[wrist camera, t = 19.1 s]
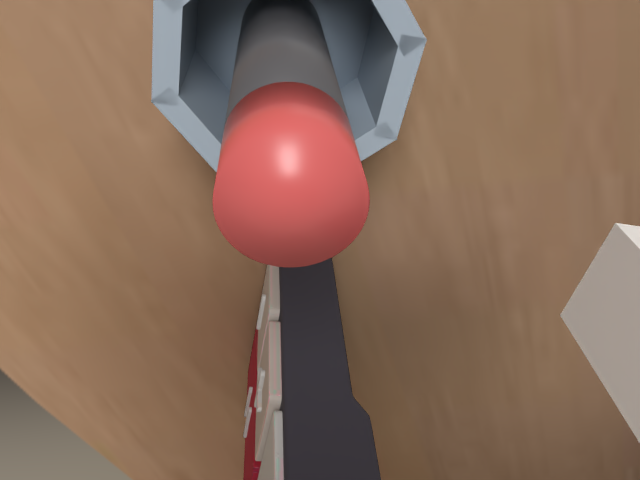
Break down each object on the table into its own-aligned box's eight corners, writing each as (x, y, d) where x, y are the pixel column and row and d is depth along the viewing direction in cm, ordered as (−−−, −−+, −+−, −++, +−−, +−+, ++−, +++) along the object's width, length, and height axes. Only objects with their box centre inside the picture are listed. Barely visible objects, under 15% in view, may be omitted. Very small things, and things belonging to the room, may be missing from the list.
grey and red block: (266, 239, 30) (264, 501, 18) (341, 247, 31) (387, 505, 19) (244, 370, 36) (231, 630, 24) (306, 374, 37) (324, 629, 25)
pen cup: (412, -70, 22) (453, -46, 17) (359, 135, 27) (379, 198, 22) (182, -122, 20) (154, -112, 15) (172, 106, 25) (149, 168, 20)
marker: (329, -2, 22) (389, 151, 11) (311, 77, 24) (346, 276, 13) (248, -22, 22) (224, 119, 10) (235, 61, 24) (203, 256, 12)
